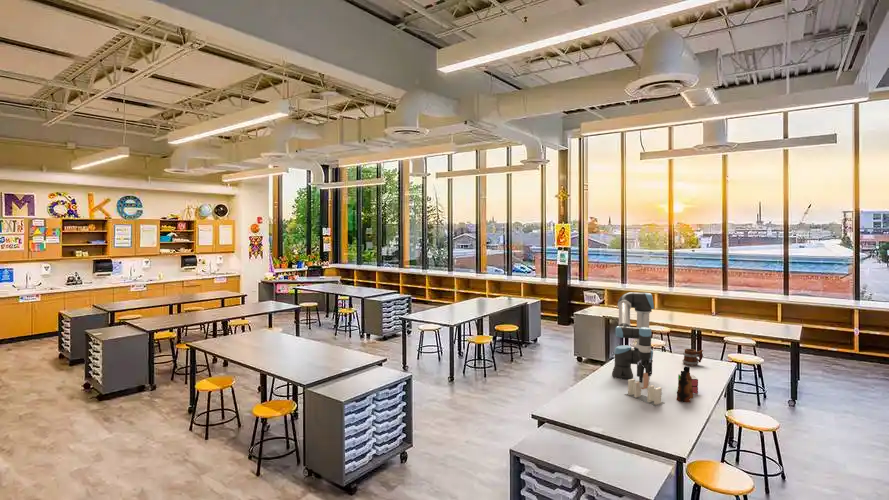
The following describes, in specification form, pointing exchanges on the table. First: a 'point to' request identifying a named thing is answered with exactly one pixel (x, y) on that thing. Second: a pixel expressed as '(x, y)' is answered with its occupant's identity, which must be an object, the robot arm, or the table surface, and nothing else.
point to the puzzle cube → (693, 383)
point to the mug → (692, 357)
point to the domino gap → (645, 380)
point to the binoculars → (685, 386)
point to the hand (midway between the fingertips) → (644, 386)
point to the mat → (643, 399)
